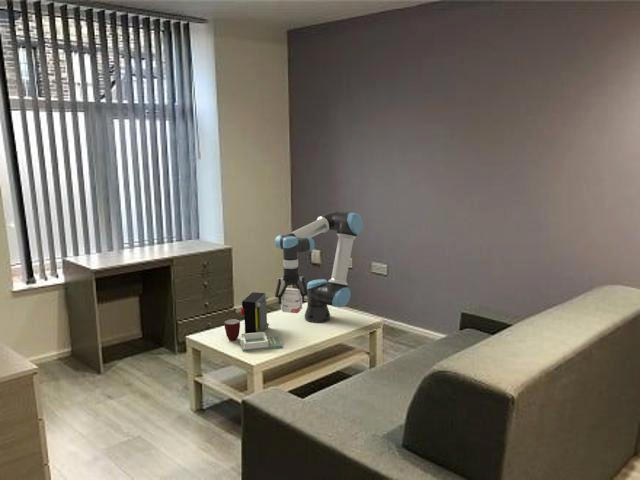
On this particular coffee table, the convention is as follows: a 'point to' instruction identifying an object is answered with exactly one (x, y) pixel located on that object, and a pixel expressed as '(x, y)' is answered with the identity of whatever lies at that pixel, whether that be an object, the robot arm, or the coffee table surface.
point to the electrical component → (255, 312)
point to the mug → (232, 329)
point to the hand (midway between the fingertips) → (291, 309)
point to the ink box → (291, 300)
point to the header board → (259, 342)
